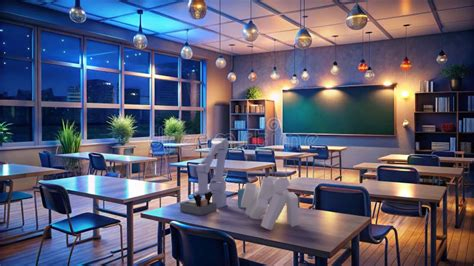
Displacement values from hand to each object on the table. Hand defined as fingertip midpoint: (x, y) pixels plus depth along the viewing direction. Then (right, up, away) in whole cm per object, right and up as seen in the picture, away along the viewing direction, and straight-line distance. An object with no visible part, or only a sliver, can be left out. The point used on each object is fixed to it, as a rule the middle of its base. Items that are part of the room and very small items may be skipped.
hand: (203, 205), depth 225 cm
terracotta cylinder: (0, -3, 0) cm, 3 cm away
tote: (-3, -4, +3) cm, 6 cm away
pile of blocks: (+37, -5, -25) cm, 45 cm away
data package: (+27, -4, +11) cm, 29 cm away
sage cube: (-6, -3, +5) cm, 8 cm away
